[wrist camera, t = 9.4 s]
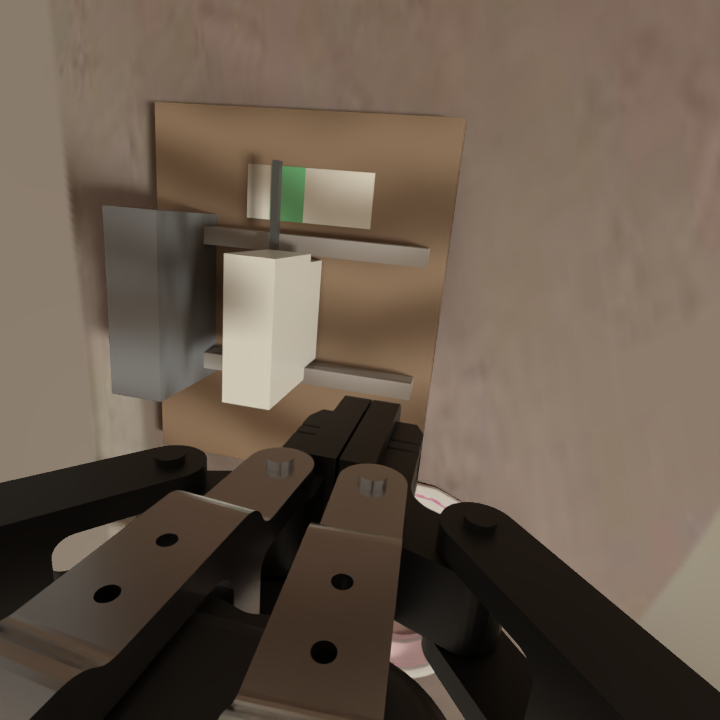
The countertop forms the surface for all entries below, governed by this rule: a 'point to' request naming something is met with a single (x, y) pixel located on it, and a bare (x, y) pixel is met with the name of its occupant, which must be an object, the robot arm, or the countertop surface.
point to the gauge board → (297, 234)
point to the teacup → (403, 639)
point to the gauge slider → (268, 317)
